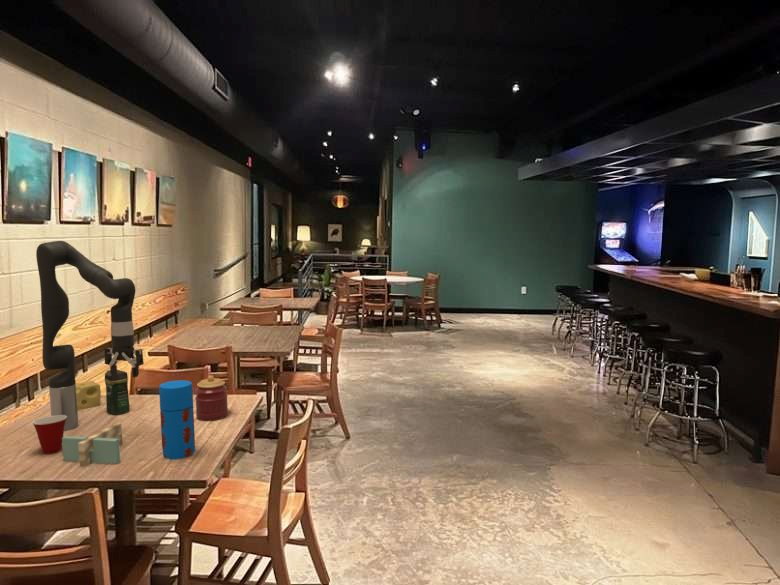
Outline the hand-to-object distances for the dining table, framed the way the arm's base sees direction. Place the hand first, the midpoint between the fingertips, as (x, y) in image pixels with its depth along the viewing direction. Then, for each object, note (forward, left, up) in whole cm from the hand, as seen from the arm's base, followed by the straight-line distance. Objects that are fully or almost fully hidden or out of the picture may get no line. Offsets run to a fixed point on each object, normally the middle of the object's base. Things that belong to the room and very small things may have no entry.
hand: (124, 376), depth 210 cm
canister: (-10, +35, -25) cm, 44 cm away
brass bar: (+8, -10, -25) cm, 28 cm away
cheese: (-59, -6, -25) cm, 64 cm away
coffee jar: (-40, +4, -25) cm, 47 cm away
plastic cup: (-7, -24, -25) cm, 35 cm away
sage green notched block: (+12, -14, -25) cm, 31 cm away
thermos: (+23, +12, -25) cm, 36 cm away
